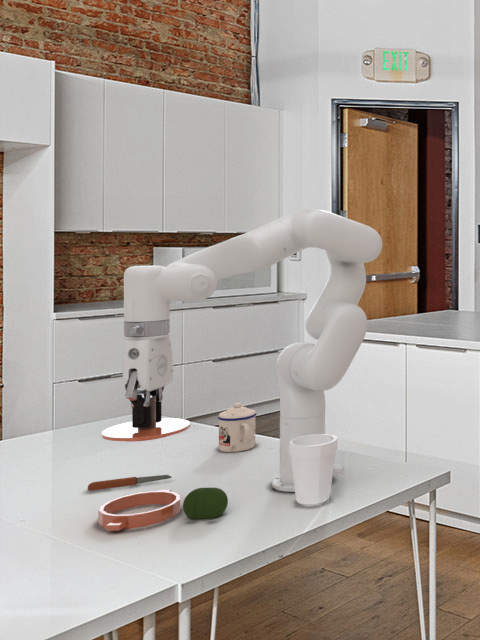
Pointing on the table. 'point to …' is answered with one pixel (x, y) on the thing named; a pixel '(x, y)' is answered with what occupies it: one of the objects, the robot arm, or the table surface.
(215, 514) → the avocado
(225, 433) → the teacup with lid
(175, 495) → the pot
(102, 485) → the kitchen knife
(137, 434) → the lid
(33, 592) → the table surface
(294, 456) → the foam cup
